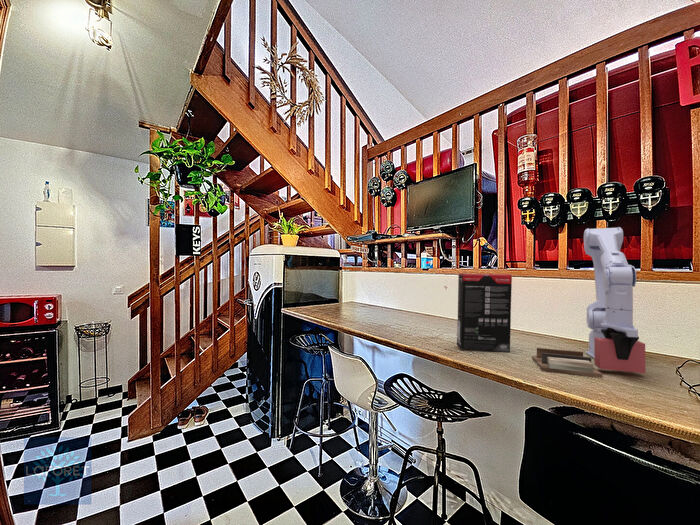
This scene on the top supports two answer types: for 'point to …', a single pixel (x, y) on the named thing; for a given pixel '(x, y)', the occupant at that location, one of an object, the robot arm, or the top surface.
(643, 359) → the red rectangular block
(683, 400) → the top surface
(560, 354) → the rack
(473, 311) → the graphics card box
